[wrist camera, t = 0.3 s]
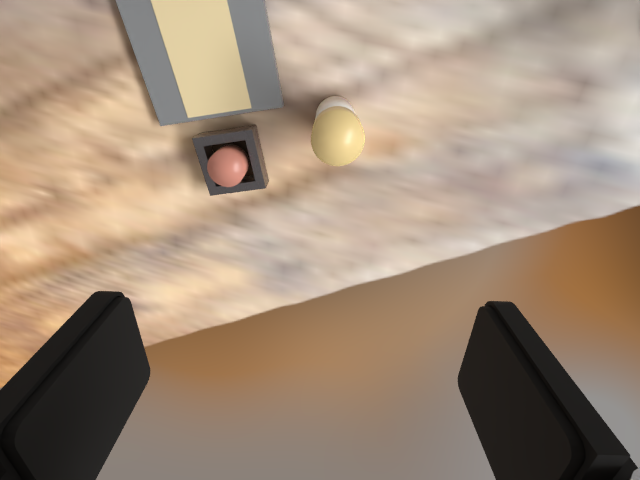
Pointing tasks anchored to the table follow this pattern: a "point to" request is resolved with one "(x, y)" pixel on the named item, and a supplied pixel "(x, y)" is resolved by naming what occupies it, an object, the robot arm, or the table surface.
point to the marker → (337, 132)
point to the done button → (228, 165)
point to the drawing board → (203, 57)
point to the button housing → (226, 136)
